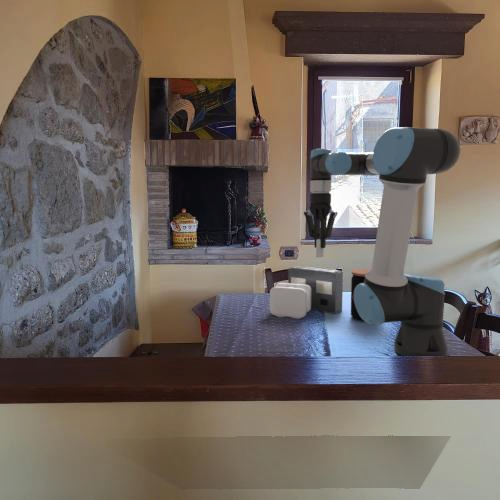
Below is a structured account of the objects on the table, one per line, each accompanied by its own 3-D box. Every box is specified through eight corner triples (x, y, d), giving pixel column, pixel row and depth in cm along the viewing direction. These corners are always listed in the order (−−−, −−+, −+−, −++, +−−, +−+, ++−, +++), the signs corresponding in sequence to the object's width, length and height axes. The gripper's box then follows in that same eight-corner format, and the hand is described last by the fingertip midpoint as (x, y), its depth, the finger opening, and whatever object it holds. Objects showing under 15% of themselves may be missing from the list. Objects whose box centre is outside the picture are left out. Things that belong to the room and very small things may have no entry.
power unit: (334, 313, 176) (335, 273, 174) (287, 305, 189) (287, 267, 187) (342, 310, 181) (342, 270, 179) (295, 302, 194) (296, 265, 192)
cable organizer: (267, 316, 174) (267, 286, 173) (276, 309, 184) (276, 281, 182) (305, 319, 169) (305, 289, 167) (312, 312, 178) (312, 284, 177)
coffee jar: (347, 320, 168) (348, 272, 165) (354, 313, 177) (355, 268, 175) (376, 323, 163) (377, 275, 160) (382, 316, 172) (383, 270, 170)
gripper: (341, 192, 161) (340, 257, 164) (310, 192, 169) (309, 254, 172) (331, 192, 155) (330, 259, 158) (299, 192, 163) (299, 256, 166)
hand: (319, 256), depth 165 cm, fingers closed
